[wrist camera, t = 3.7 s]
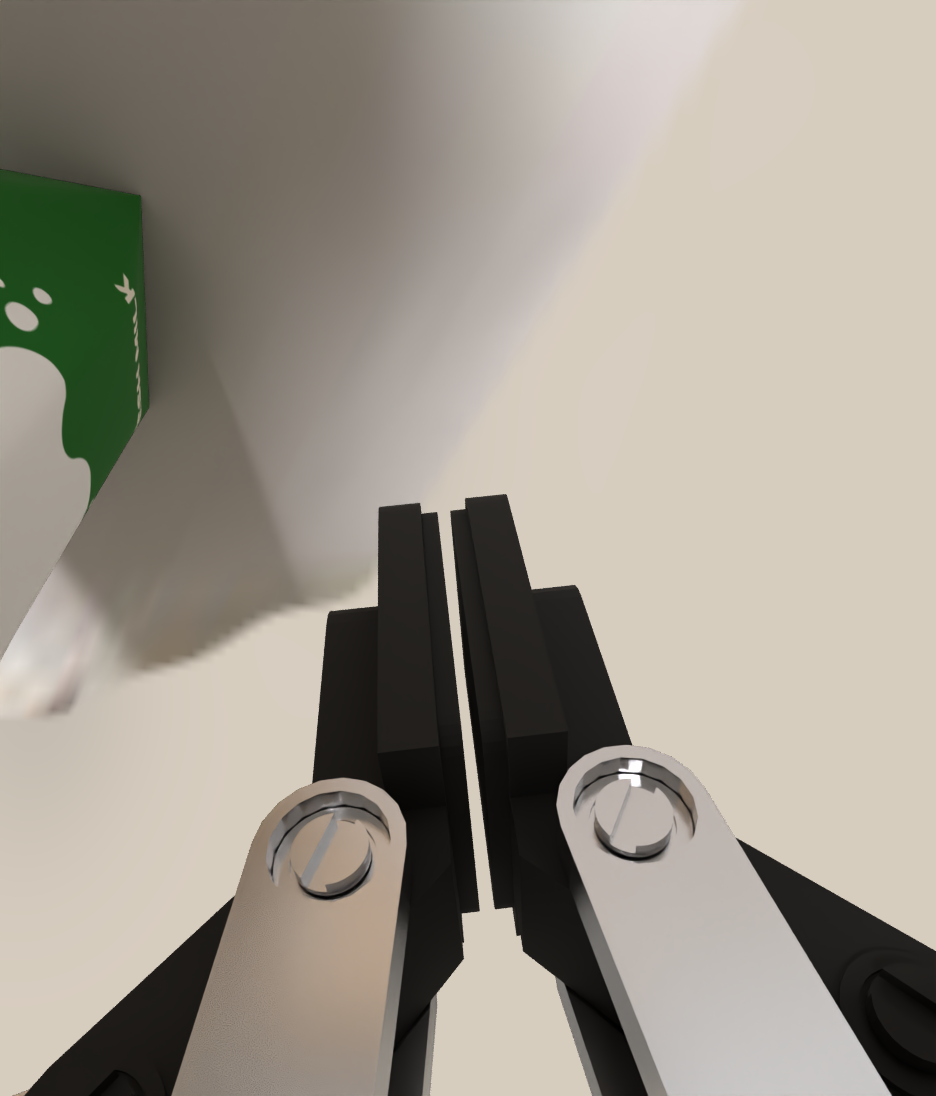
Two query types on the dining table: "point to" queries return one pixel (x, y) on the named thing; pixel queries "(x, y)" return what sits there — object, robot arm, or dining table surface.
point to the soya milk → (63, 367)
